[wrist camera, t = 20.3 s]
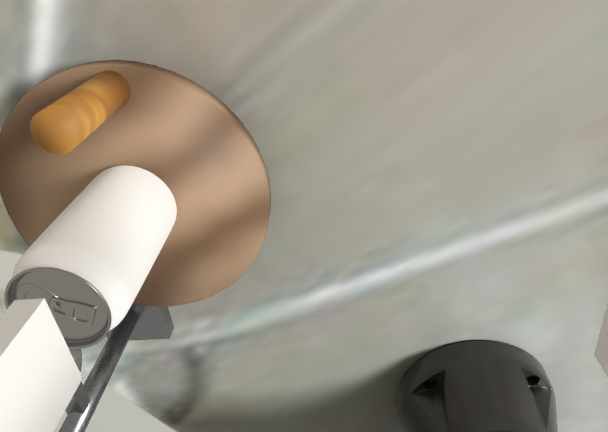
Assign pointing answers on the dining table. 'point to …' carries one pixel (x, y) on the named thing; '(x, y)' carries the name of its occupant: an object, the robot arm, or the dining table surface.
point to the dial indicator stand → (113, 360)
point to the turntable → (147, 155)
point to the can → (97, 253)
